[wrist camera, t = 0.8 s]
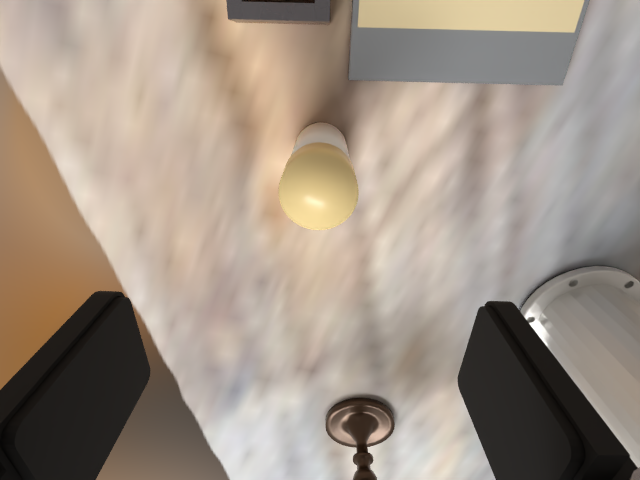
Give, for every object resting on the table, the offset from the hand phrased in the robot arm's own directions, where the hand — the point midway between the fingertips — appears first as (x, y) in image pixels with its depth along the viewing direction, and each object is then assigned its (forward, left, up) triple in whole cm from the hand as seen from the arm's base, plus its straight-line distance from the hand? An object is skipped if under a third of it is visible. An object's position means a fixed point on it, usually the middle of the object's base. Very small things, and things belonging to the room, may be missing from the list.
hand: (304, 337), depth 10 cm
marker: (0, 0, -23) cm, 23 cm away
